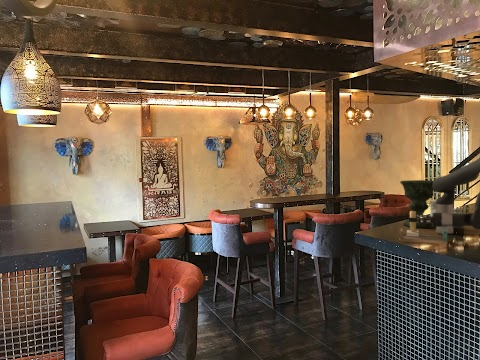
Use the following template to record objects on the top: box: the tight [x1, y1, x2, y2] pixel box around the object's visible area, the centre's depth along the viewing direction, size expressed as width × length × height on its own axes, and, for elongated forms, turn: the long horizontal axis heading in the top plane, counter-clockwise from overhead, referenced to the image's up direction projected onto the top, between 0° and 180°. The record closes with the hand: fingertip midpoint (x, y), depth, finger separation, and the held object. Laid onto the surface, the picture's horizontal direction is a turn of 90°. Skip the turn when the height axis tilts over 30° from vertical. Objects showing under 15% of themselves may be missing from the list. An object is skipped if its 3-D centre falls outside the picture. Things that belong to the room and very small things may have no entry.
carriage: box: [406, 210, 420, 237], centre depth 217 cm, size 7×6×13 cm
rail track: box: [399, 228, 448, 245], centre depth 216 cm, size 10×23×6 cm, turn 66°
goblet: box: [400, 179, 435, 229], centre depth 262 cm, size 22×23×30 cm
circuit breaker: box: [428, 199, 455, 217], centre depth 277 cm, size 8×14×15 cm, turn 89°
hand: (409, 218), depth 218 cm, fingers open, 8 cm apart
